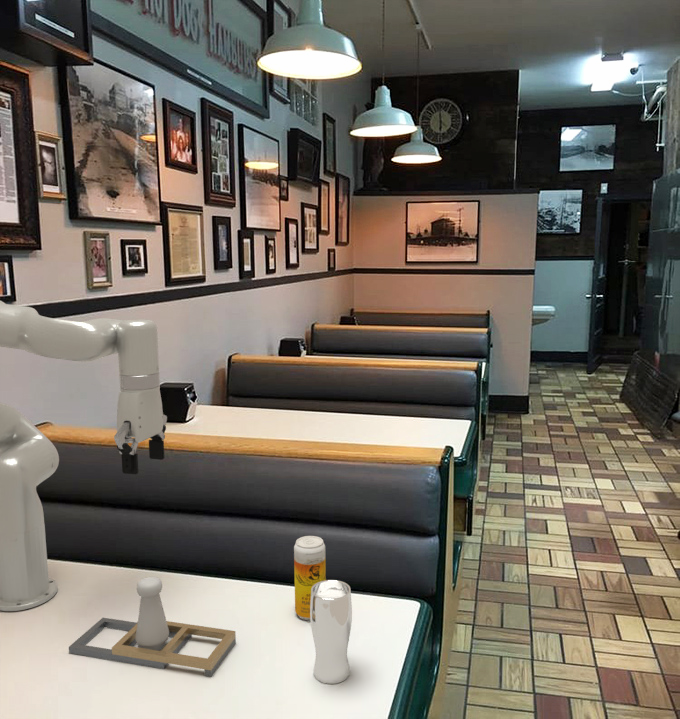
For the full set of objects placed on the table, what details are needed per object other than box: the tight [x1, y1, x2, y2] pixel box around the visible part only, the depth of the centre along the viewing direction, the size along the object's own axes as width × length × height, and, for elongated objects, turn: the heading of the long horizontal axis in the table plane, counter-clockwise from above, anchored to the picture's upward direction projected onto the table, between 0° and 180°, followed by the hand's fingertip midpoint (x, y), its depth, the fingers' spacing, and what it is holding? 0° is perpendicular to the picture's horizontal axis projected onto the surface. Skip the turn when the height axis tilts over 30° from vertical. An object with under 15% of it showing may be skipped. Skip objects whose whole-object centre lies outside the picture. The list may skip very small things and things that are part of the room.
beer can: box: [293, 535, 327, 621], centre depth 126 cm, size 6×6×15 cm
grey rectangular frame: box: [68, 617, 193, 670], centre depth 117 cm, size 19×10×1 cm, turn 75°
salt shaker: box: [135, 576, 170, 651], centre depth 115 cm, size 6×6×13 cm
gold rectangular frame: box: [111, 620, 237, 678], centre depth 114 cm, size 19×10×2 cm, turn 75°
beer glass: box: [309, 579, 353, 685], centre depth 107 cm, size 7×7×15 cm
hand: (144, 465), depth 129 cm, fingers open, 9 cm apart
